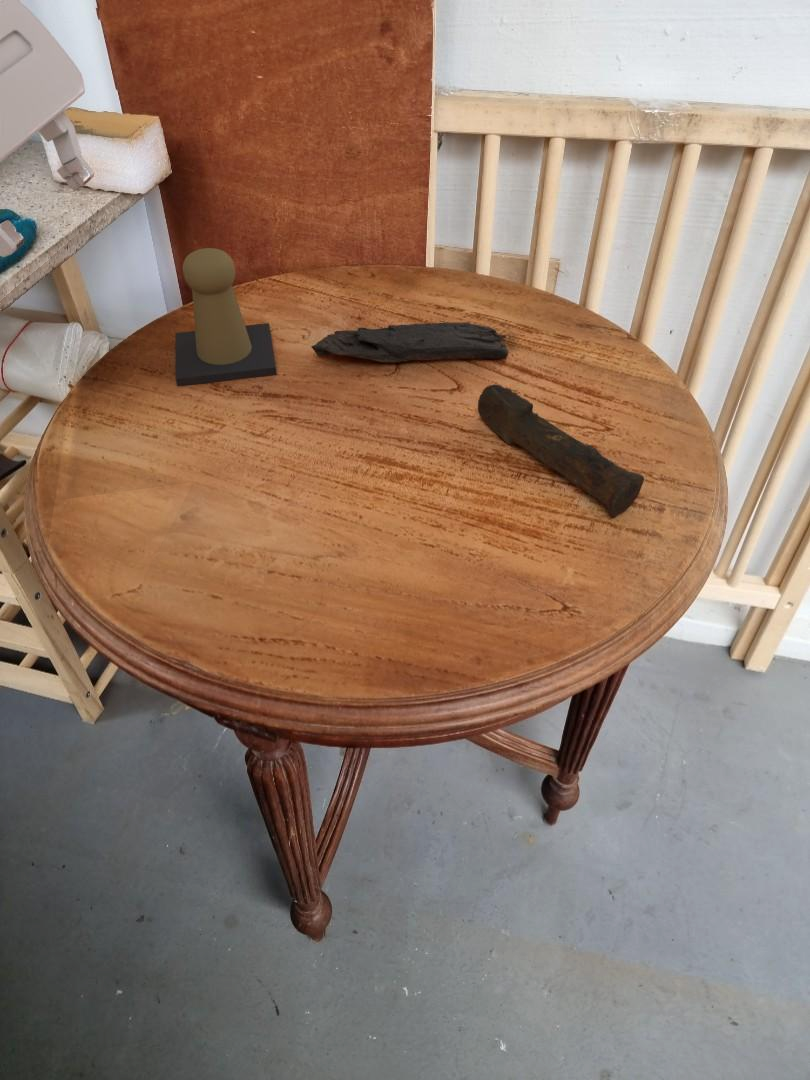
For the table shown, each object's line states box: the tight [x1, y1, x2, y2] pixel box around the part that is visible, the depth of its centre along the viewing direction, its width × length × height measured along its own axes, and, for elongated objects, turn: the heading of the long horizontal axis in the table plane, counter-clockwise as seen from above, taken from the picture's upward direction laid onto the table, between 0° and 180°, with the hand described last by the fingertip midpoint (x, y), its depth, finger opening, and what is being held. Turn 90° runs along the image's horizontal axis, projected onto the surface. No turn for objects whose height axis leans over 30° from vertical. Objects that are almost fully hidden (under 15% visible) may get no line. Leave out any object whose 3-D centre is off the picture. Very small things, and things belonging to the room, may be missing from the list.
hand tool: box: [477, 384, 645, 519], centre depth 73 cm, size 19×4×5 cm, turn 39°
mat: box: [174, 322, 278, 387], centre depth 86 cm, size 11×9×1 cm
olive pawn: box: [182, 247, 252, 365], centre depth 82 cm, size 6×6×11 cm
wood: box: [310, 321, 509, 363], centre depth 87 cm, size 22×7×3 cm, turn 95°
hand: (51, 215), depth 59 cm, fingers open, 8 cm apart
